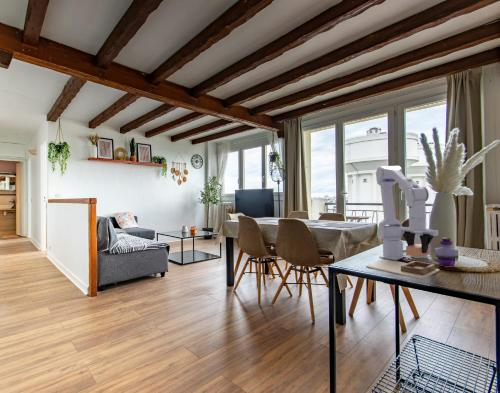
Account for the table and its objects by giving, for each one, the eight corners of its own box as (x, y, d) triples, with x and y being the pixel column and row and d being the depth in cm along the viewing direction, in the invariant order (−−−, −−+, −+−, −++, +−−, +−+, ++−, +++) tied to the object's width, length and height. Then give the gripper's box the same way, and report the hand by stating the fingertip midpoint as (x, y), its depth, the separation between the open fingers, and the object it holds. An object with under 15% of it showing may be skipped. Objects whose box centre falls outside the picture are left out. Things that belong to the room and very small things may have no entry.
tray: (414, 265, 116) (414, 260, 116) (435, 269, 110) (435, 264, 110) (400, 271, 109) (400, 266, 109) (422, 275, 103) (422, 270, 103)
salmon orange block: (406, 254, 110) (406, 246, 109) (418, 252, 113) (418, 243, 113) (417, 257, 106) (417, 248, 105) (429, 254, 109) (429, 245, 109)
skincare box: (416, 258, 129) (415, 232, 129) (409, 256, 133) (408, 231, 133) (428, 257, 130) (427, 232, 129) (421, 255, 134) (420, 230, 134)
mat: (385, 260, 127) (385, 259, 127) (439, 270, 110) (439, 269, 110) (366, 267, 118) (366, 265, 118) (422, 279, 100) (422, 277, 100)
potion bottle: (464, 269, 110) (463, 239, 110) (440, 268, 112) (439, 239, 112) (452, 263, 119) (452, 236, 119) (430, 263, 120) (430, 236, 120)
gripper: (442, 218, 105) (443, 253, 105) (405, 215, 117) (406, 247, 118) (432, 219, 101) (432, 256, 101) (395, 217, 114) (396, 249, 114)
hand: (417, 251), depth 109 cm, fingers closed on salmon orange block, 4 cm apart
